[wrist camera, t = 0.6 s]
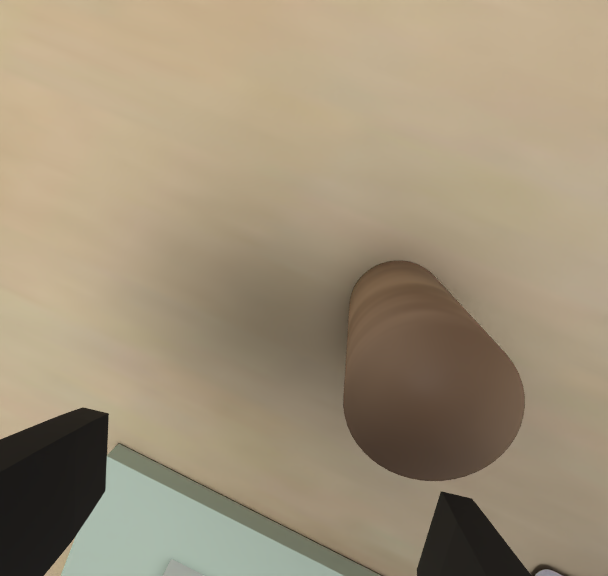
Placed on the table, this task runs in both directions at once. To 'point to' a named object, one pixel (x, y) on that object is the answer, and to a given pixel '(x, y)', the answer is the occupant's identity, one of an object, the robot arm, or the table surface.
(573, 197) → the table surface
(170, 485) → the socket board
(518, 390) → the walnut peg
